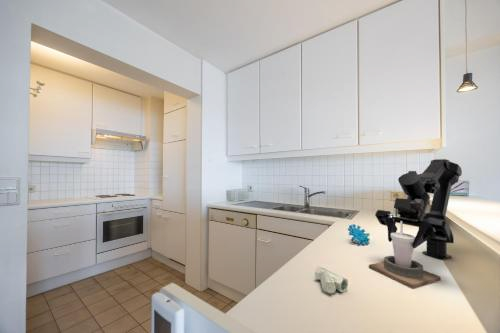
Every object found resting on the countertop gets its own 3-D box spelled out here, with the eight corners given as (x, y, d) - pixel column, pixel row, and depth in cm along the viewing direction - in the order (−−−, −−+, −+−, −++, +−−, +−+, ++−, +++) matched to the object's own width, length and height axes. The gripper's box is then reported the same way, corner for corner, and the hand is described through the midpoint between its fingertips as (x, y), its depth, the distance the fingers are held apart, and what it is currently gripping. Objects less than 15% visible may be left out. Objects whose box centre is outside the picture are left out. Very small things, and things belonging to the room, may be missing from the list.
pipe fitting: (332, 300, 50) (348, 290, 54) (331, 285, 50) (347, 275, 54) (307, 285, 57) (322, 277, 61) (306, 271, 57) (322, 264, 61)
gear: (355, 243, 86) (345, 222, 94) (347, 249, 90) (338, 229, 98) (376, 244, 89) (365, 224, 96) (368, 251, 93) (358, 231, 100)
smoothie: (405, 262, 67) (405, 219, 67) (421, 271, 61) (421, 224, 61) (385, 261, 67) (385, 219, 67) (400, 271, 60) (400, 224, 61)
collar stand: (395, 262, 72) (395, 251, 72) (440, 280, 60) (440, 268, 60) (368, 267, 67) (368, 256, 67) (412, 288, 55) (412, 275, 55)
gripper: (377, 187, 74) (360, 221, 68) (446, 191, 58) (432, 236, 52) (388, 207, 78) (373, 241, 72) (455, 216, 62) (443, 261, 56)
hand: (400, 244), depth 63 cm, fingers closed on smoothie, 6 cm apart
